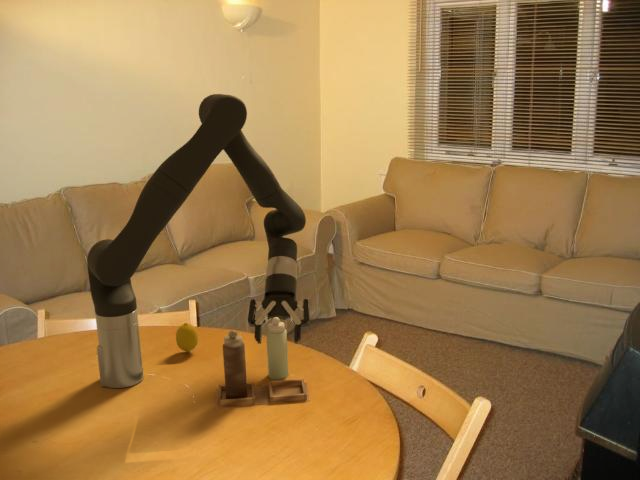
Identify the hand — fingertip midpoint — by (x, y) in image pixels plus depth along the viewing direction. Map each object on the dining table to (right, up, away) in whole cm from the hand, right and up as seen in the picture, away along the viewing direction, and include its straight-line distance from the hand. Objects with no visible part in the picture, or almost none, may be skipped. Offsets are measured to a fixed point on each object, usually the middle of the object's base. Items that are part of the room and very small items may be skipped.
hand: (277, 342), depth 166 cm
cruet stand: (-3, -11, -8) cm, 14 cm away
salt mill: (0, -9, +1) cm, 9 cm away
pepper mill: (-8, -10, -9) cm, 16 cm away
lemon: (-24, -5, +19) cm, 31 cm away
